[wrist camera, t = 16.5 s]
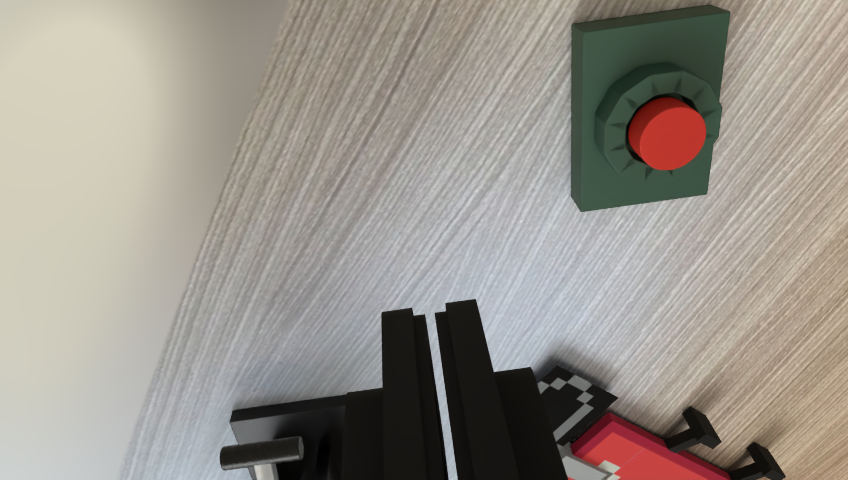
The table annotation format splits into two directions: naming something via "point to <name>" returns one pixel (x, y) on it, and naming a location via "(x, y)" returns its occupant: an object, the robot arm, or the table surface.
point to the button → (667, 133)
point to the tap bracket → (308, 419)
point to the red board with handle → (632, 440)
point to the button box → (642, 101)
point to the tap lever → (262, 456)
